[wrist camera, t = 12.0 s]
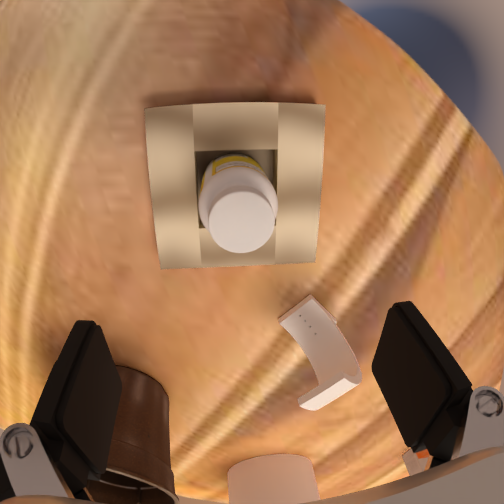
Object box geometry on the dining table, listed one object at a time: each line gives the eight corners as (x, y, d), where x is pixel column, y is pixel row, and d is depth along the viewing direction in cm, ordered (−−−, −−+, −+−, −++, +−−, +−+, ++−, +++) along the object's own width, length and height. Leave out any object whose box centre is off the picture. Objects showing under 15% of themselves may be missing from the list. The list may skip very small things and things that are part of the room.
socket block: (151, 107, 24) (144, 108, 22) (316, 104, 25) (325, 104, 23) (164, 256, 31) (160, 269, 28) (308, 250, 32) (315, 262, 29)
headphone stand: (310, 293, 34) (344, 377, 23) (339, 322, 36) (375, 401, 26) (277, 318, 35) (298, 405, 25) (309, 344, 38) (335, 425, 27)
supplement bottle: (235, 222, 29) (243, 279, 21) (189, 184, 27) (175, 227, 19) (277, 179, 28) (304, 220, 19) (232, 138, 26) (238, 159, 17)
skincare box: (427, 444, 60) (444, 481, 49) (416, 453, 61) (432, 489, 51) (412, 446, 58) (428, 486, 48) (400, 456, 60) (416, 494, 49)
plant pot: (75, 335, 34) (30, 443, 20) (198, 373, 38) (195, 489, 24) (73, 404, 41) (49, 490, 26) (170, 432, 45) (165, 521, 30)
